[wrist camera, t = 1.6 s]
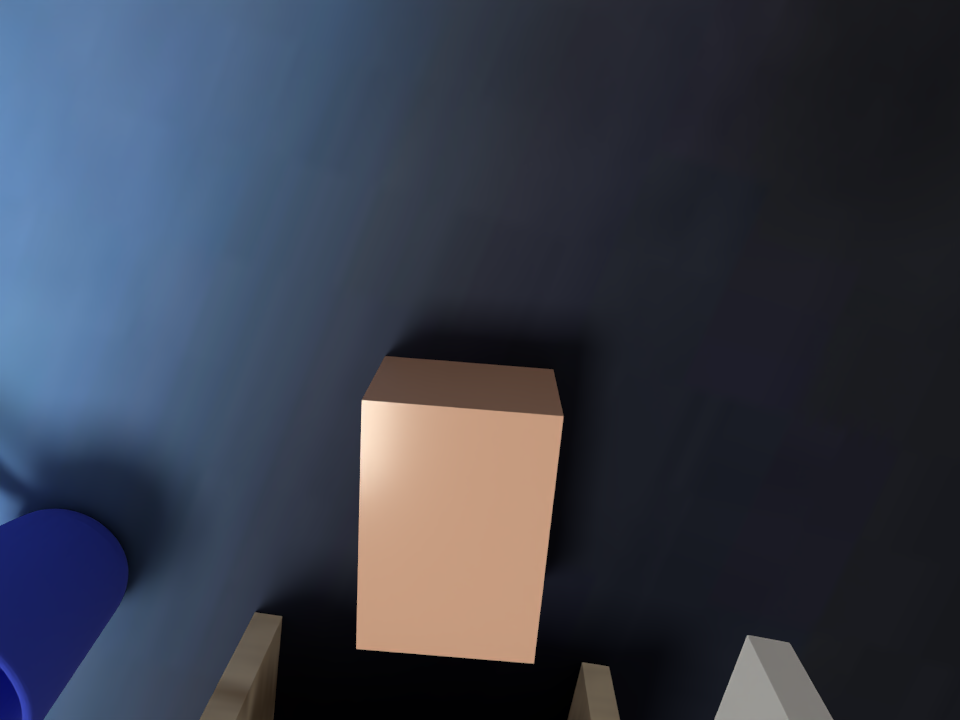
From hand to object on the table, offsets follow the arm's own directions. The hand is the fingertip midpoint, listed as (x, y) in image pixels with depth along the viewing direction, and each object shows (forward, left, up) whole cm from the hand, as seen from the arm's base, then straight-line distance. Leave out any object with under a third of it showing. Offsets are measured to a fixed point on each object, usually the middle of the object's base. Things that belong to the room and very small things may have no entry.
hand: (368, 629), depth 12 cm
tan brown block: (+8, +2, -22) cm, 23 cm away
